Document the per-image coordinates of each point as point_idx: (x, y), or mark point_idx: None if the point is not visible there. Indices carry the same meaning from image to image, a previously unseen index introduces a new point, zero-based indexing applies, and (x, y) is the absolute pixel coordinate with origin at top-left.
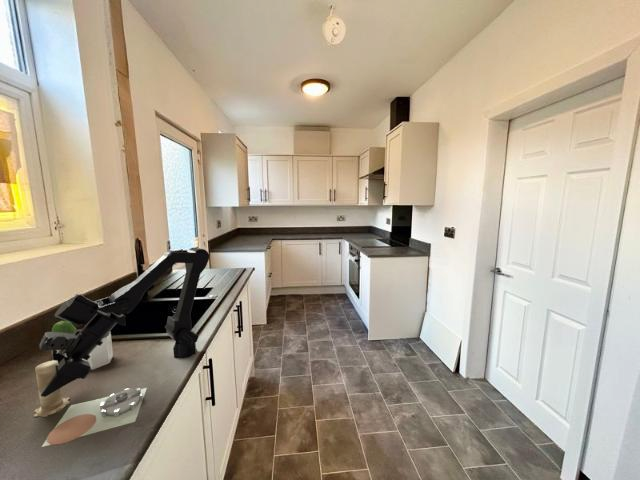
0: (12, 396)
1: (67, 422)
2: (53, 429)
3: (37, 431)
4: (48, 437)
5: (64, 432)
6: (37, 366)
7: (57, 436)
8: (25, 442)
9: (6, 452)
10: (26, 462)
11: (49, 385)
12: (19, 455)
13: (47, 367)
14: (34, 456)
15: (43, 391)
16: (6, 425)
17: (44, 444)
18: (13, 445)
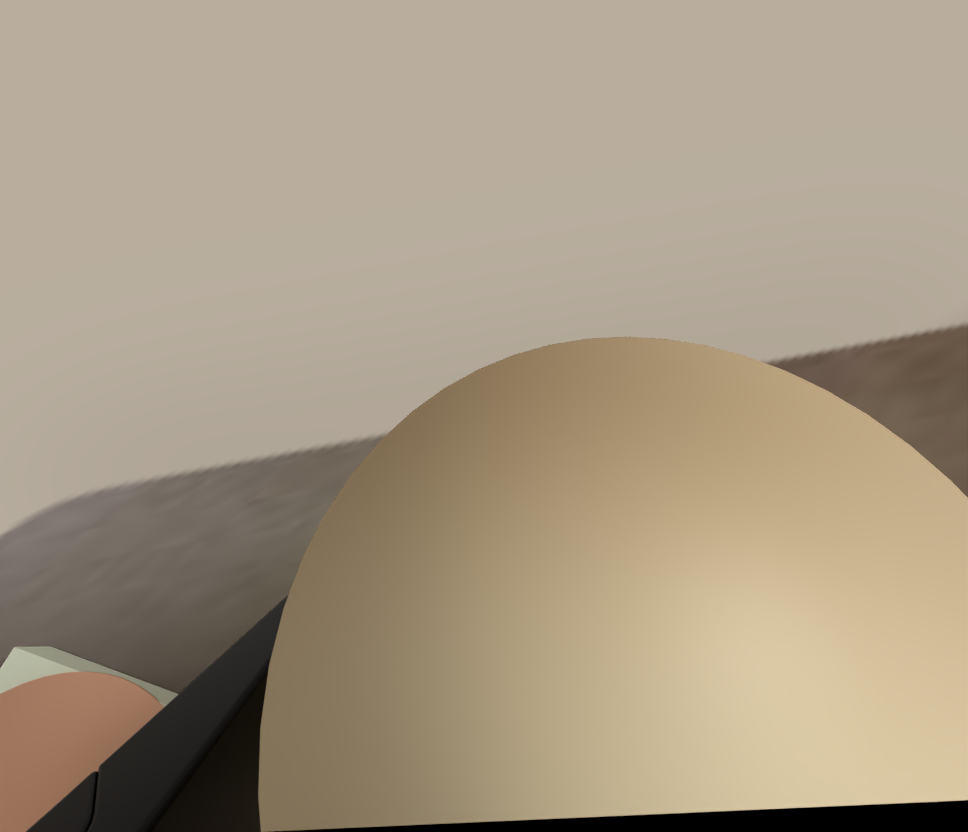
0: (899, 366)
1: None
2: (153, 703)
3: None
4: (77, 681)
5: (18, 802)
6: (722, 371)
7: (23, 748)
8: (260, 535)
9: (248, 463)
10: (38, 577)
11: (151, 733)
12: (151, 529)
13: (317, 758)
14: (52, 610)
15: (272, 618)
16: None
17: (24, 664)
18: (287, 482)
